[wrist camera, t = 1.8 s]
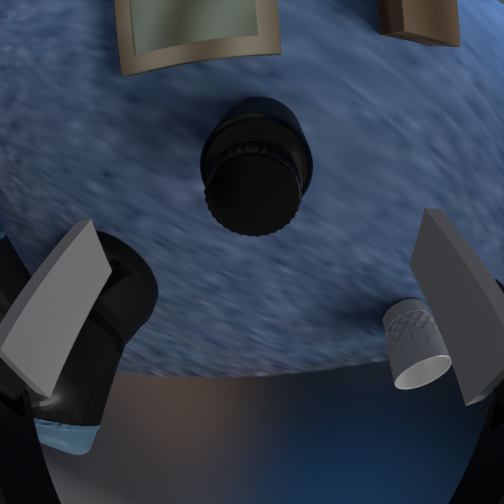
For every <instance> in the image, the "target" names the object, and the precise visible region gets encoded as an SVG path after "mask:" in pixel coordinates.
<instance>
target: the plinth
mask: <svg viewBox="0 0 504 504" xmlns="http://www.w3.org/2000/svg"><path fill="white" fill-rule="evenodd" d="M114 2H115V16H116V28H117V38H118V47H119V56H120V63H121V71H122V77H124V76H129V75H135V74H140V73H144V72H148V71H153V70H157V69H162V68H167V67H172V66H177V65H182V64H188V63H194V62H201V61H208V60H216V59H224V58H234V57H246V56H263V55H280V54H281V41H280V28H279V15H278V3H277V0H114Z"/></svg>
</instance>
